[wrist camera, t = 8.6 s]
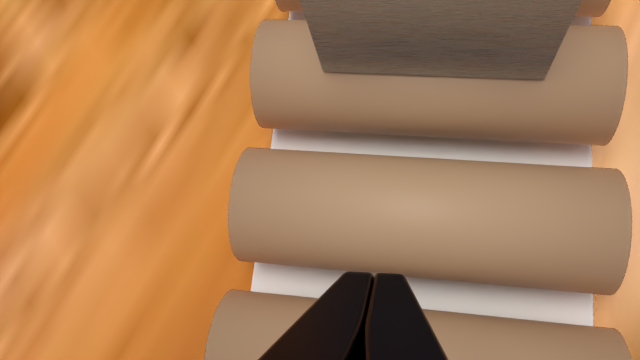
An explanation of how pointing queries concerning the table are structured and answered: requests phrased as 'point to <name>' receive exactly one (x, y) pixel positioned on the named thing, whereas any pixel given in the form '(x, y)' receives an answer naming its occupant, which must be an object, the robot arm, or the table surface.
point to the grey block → (439, 36)
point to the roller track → (434, 196)
